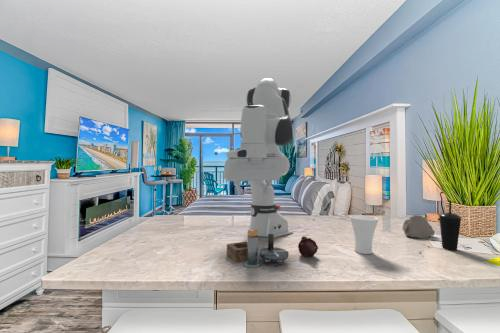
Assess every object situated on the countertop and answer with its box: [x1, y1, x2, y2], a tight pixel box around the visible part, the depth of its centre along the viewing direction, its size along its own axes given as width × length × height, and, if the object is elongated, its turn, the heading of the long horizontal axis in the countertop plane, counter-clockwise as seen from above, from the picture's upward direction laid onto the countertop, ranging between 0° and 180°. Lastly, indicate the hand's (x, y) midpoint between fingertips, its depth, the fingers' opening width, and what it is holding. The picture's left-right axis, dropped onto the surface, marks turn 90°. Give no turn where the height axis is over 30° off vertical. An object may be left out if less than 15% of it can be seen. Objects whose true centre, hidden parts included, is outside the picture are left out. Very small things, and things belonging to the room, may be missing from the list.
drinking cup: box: [438, 200, 463, 252], centre depth 108 cm, size 8×8×20 cm
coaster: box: [243, 260, 261, 269], centre depth 87 cm, size 6×6×1 cm
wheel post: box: [264, 259, 284, 266], centre depth 90 cm, size 6×6×1 cm
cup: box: [349, 214, 380, 255], centre depth 103 cm, size 10×10×14 cm
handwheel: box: [259, 234, 290, 261], centre depth 90 cm, size 10×10×6 cm
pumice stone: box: [402, 214, 436, 239], centre depth 127 cm, size 15×8×10 cm, turn 96°
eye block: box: [226, 240, 248, 263], centre depth 95 cm, size 8×8×4 cm
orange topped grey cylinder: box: [246, 229, 259, 265], centre depth 88 cm, size 3×3×11 cm
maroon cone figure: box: [297, 235, 319, 258], centre depth 97 cm, size 7×7×15 cm
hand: (253, 194), depth 88 cm, fingers open, 8 cm apart
